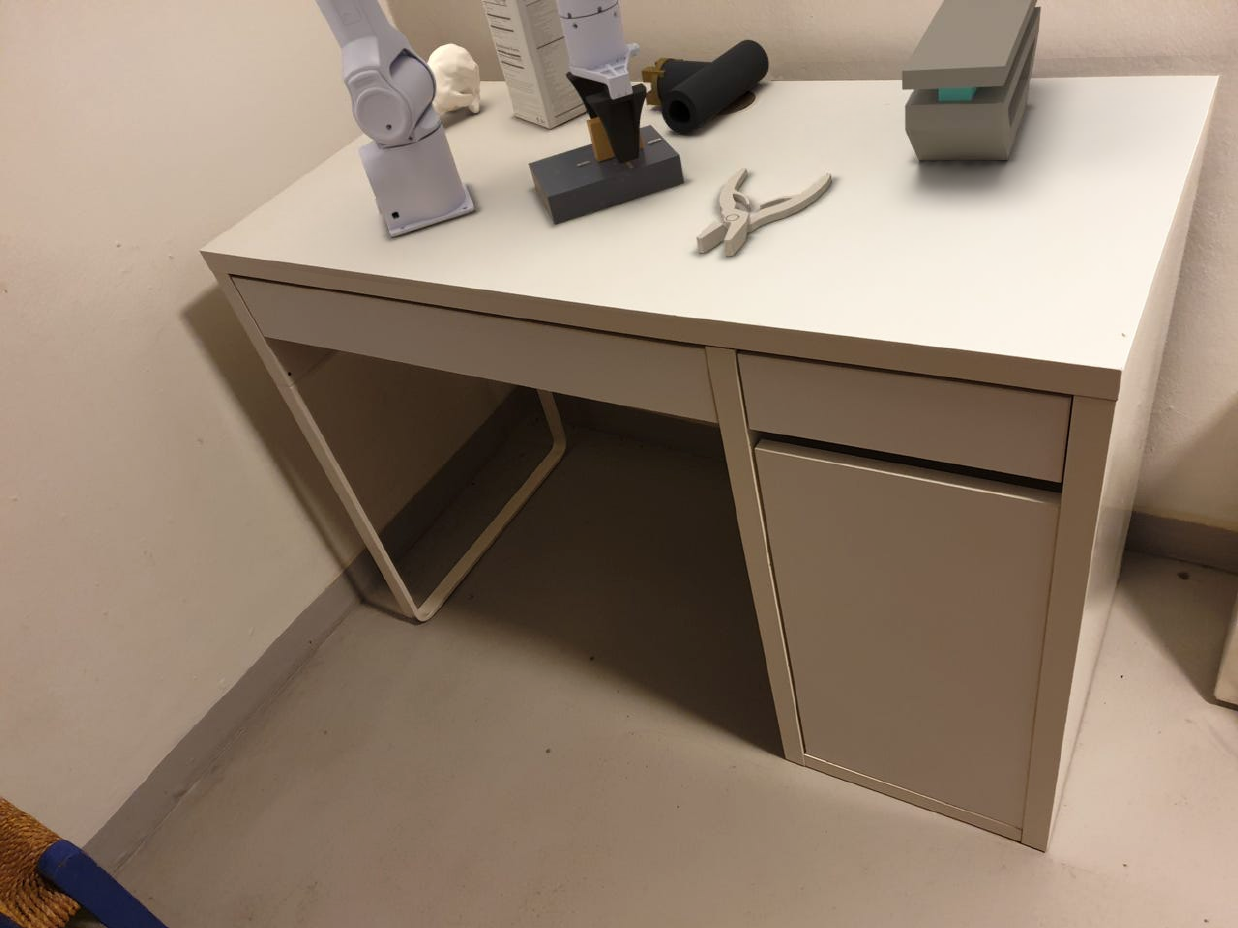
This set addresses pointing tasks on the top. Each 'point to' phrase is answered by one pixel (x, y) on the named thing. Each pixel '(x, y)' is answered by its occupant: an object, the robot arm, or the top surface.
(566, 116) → the supplement box
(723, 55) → the pipe connector
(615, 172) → the dark slotted flat block
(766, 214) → the pliers
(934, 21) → the grey slotted box
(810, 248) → the top surface
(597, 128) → the tan upright tile
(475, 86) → the white lumpy rounded piece
